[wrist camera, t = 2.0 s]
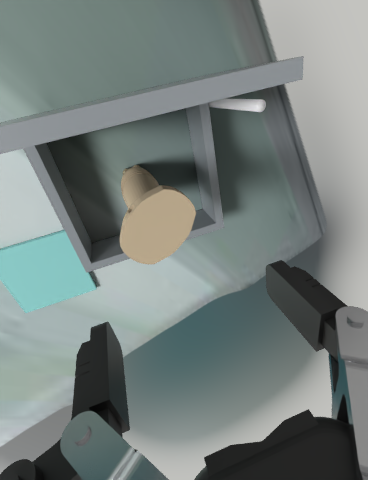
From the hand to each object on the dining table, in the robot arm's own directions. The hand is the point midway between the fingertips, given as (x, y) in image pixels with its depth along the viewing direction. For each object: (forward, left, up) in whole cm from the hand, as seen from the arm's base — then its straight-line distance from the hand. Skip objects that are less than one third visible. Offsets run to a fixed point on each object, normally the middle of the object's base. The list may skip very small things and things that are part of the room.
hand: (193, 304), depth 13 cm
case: (0, 0, -24) cm, 24 cm away
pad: (+9, -15, -24) cm, 29 cm away
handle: (0, 0, -24) cm, 24 cm away
